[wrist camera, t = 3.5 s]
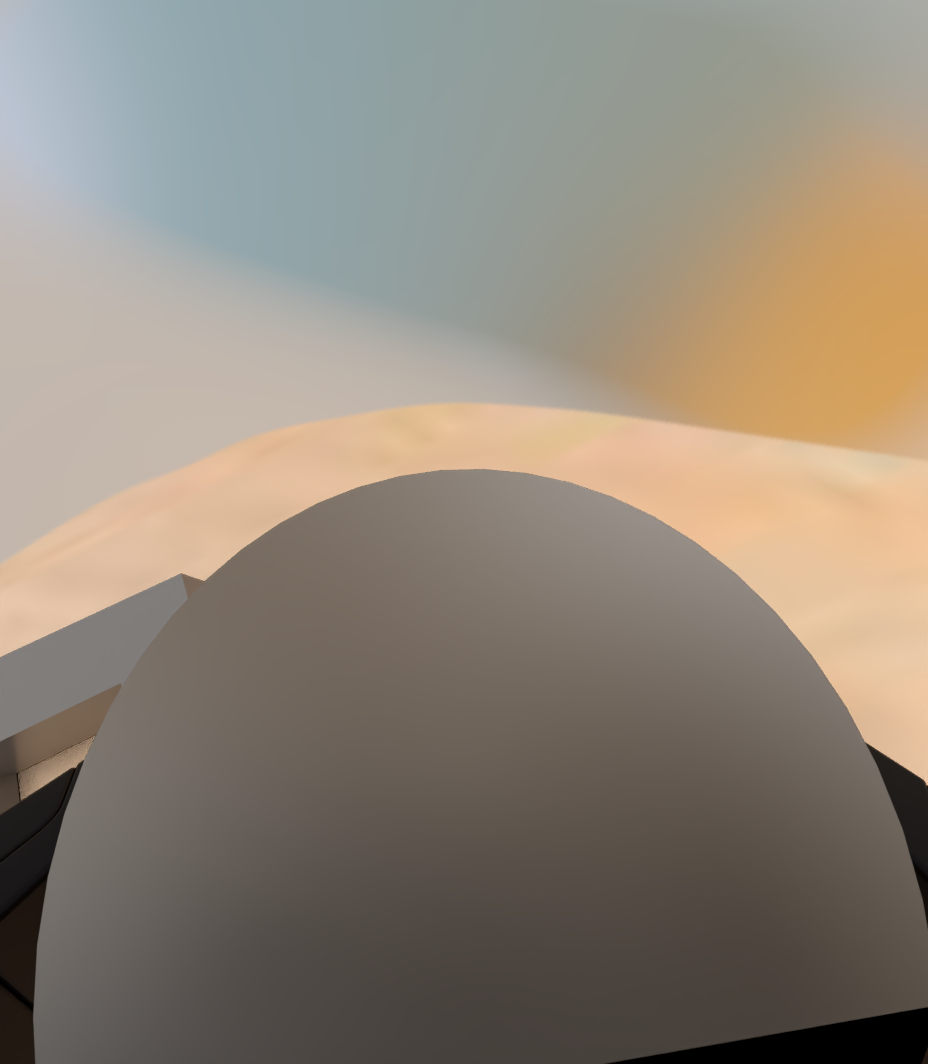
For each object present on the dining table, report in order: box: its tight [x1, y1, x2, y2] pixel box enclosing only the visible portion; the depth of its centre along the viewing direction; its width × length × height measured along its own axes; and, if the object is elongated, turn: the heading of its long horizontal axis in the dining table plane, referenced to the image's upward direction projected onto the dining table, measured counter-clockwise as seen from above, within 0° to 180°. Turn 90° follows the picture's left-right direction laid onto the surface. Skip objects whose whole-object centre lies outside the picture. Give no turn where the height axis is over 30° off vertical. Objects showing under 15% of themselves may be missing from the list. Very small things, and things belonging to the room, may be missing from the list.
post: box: [33, 469, 928, 1064], centre depth 8 cm, size 5×5×12 cm
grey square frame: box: [0, 574, 204, 814], centre depth 12 cm, size 11×11×4 cm
